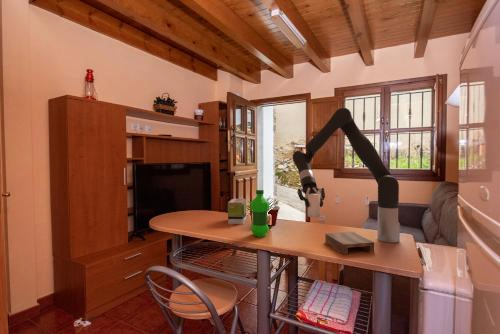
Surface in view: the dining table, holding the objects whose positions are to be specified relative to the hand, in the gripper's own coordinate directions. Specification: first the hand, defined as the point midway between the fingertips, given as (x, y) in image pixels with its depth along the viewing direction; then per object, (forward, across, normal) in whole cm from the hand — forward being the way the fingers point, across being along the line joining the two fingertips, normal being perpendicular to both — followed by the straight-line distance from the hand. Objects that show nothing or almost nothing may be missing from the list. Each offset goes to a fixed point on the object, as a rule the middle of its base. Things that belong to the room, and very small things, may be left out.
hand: (315, 206), depth 127 cm
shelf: (+17, +14, +10) cm, 24 cm away
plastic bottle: (+1, -25, +26) cm, 36 cm away
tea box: (-22, -37, +49) cm, 65 cm away
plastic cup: (-14, -15, +41) cm, 46 cm away
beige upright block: (+3, 0, +5) cm, 6 cm away
